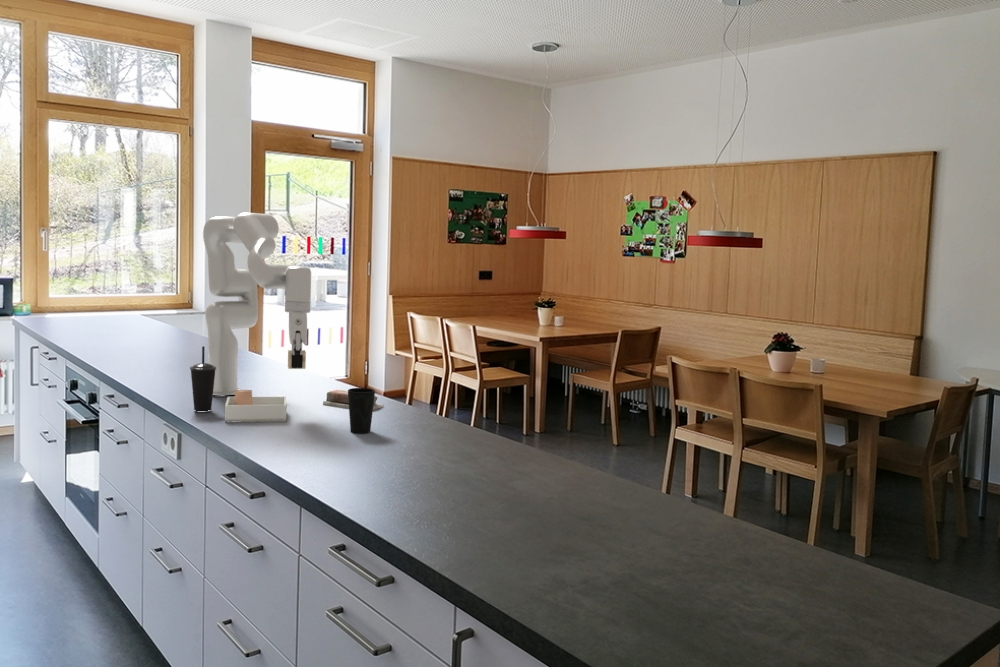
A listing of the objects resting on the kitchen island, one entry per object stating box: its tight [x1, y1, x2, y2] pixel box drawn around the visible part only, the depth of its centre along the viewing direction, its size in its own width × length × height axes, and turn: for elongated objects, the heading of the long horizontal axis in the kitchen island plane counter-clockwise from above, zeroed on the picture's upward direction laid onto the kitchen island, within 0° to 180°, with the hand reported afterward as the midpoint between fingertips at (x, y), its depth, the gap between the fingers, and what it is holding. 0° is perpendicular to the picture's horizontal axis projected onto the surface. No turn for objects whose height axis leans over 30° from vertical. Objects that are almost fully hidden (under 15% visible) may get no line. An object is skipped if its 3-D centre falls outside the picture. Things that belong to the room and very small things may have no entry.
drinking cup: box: [189, 345, 216, 411], centre depth 249 cm, size 8×8×20 cm
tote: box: [224, 396, 287, 423], centre depth 245 cm, size 13×17×5 cm
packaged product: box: [322, 389, 385, 411], centre depth 269 cm, size 18×5×10 cm
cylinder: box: [234, 389, 253, 405], centre depth 244 cm, size 5×5×7 cm
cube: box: [287, 349, 307, 370], centre depth 250 cm, size 5×5×5 cm
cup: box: [347, 387, 376, 435], centre depth 233 cm, size 8×8×12 cm
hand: (296, 365), depth 250 cm, fingers closed on cube, 5 cm apart
